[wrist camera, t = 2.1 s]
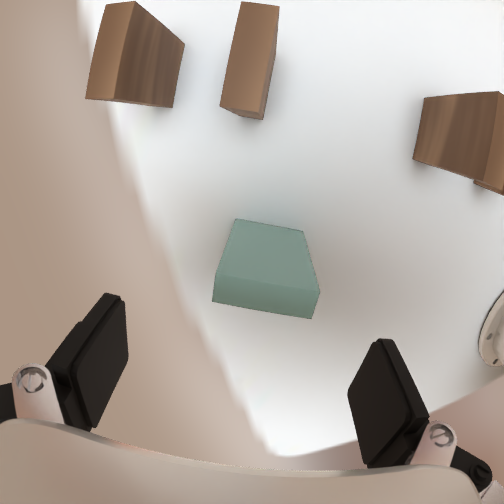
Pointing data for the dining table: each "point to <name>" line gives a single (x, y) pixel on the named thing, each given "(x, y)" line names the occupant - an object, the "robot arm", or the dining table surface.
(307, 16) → the dining table surface
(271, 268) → the domino
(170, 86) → the domino
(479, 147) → the domino
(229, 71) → the domino
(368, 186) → the dining table surface
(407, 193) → the dining table surface
